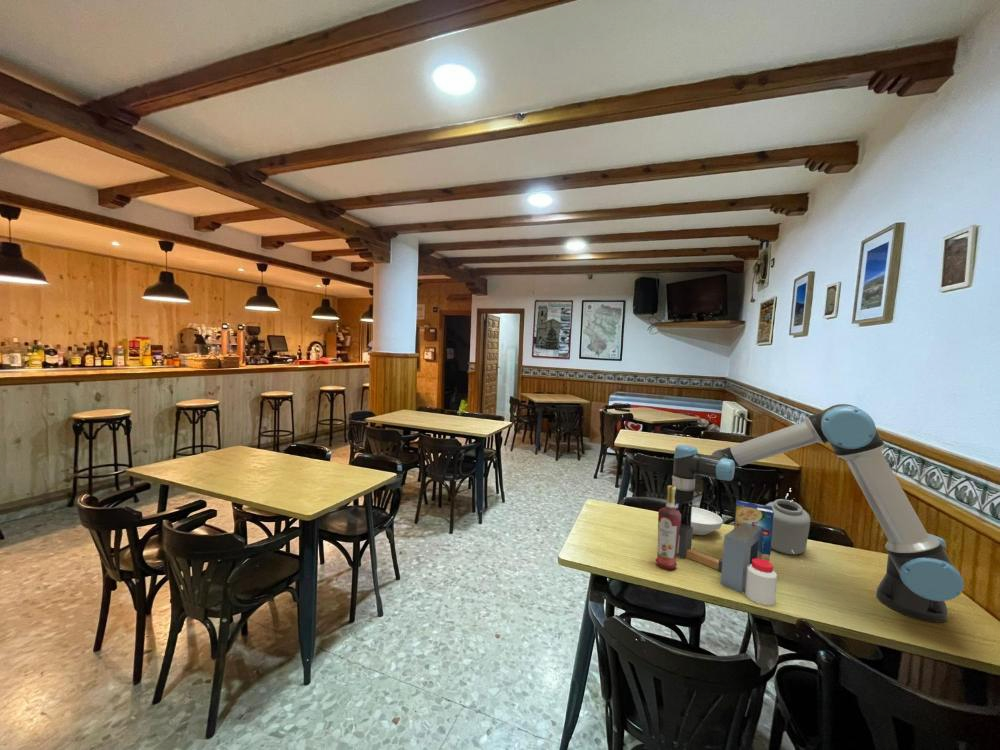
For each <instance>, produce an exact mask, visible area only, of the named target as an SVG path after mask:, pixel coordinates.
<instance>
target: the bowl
mask: <svg viewBox="0 0 1000 750" xmlns="http://www.w3.org/2000/svg"><path fill="white" fill-rule="evenodd" d="M722 525H723V518H722V517H721V516H720V515H719V514H717V513H715V512H712V511H710V510H707V509H704V508H700V507H696V506H695V507H694V506H692V512H691V527H693V533H692V535H698V536H706V535H708V534H710V533H713V532H714V531H717V530H720V529H721V528H722Z"/></svg>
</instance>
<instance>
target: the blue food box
mask: <svg viewBox="0 0 1000 750" xmlns="http://www.w3.org/2000/svg"><path fill="white" fill-rule="evenodd" d="M734 513H735V514H734V525H733V529H734V528H736V527H737V526H739V525H740V524H741V523H747V524H752V525H757V526H761V527H764V536H763V548H762V559H763V560H766V561H768V562H770V563H771V553H772V552H771V550H772V548H771V540H772V528H773V516H774V512H773V509H772V507H771V506H766V504H759V503H753V502H748V501H743V500H739V499H736V501H735V511H734Z"/></svg>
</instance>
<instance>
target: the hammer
mask: <svg viewBox="0 0 1000 750" xmlns="http://www.w3.org/2000/svg"><path fill="white" fill-rule="evenodd" d="M692 533H693V527H690V526H687V525H684V524H681V526H680V531H679V535H680V541H679V553H677V555H676V557H679V558H681V559H686V558H687V559H690V560H693V561H695V562H697V563H699V564H700V563H701V564H702V565H705V566H707V567H710V568H713V569H715V570H716V571H719V572H721V573H722V561H723V557H722V558H720V559H718V558H715V557H712V556H710V555H707V554H704V553H702V552H699V551H696V550H693V549H692V545H693V534H692Z"/></svg>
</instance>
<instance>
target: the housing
mask: <svg viewBox="0 0 1000 750" xmlns="http://www.w3.org/2000/svg"><path fill="white" fill-rule="evenodd" d="M763 536H764V527H761V526H757V525H752V524H747V523H741V524H740V525H739V526H737V527H736V528H734V527H733V529H731V530H730V531H729V532H728V533H726V534H725V535H724V538H723V550H722V551H723V552H722V558H723V561H722V572H721V573H720V574H721V577H720V585H722V586H723V587H726V588H728V587H729V589H731V590H733V591H735V590H736V591H735V592H738V593H740V594H742V593H743V592H745V586H746V574H747V566H748V565H750V564H752V559H754V558H758V559H762V548H763Z"/></svg>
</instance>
